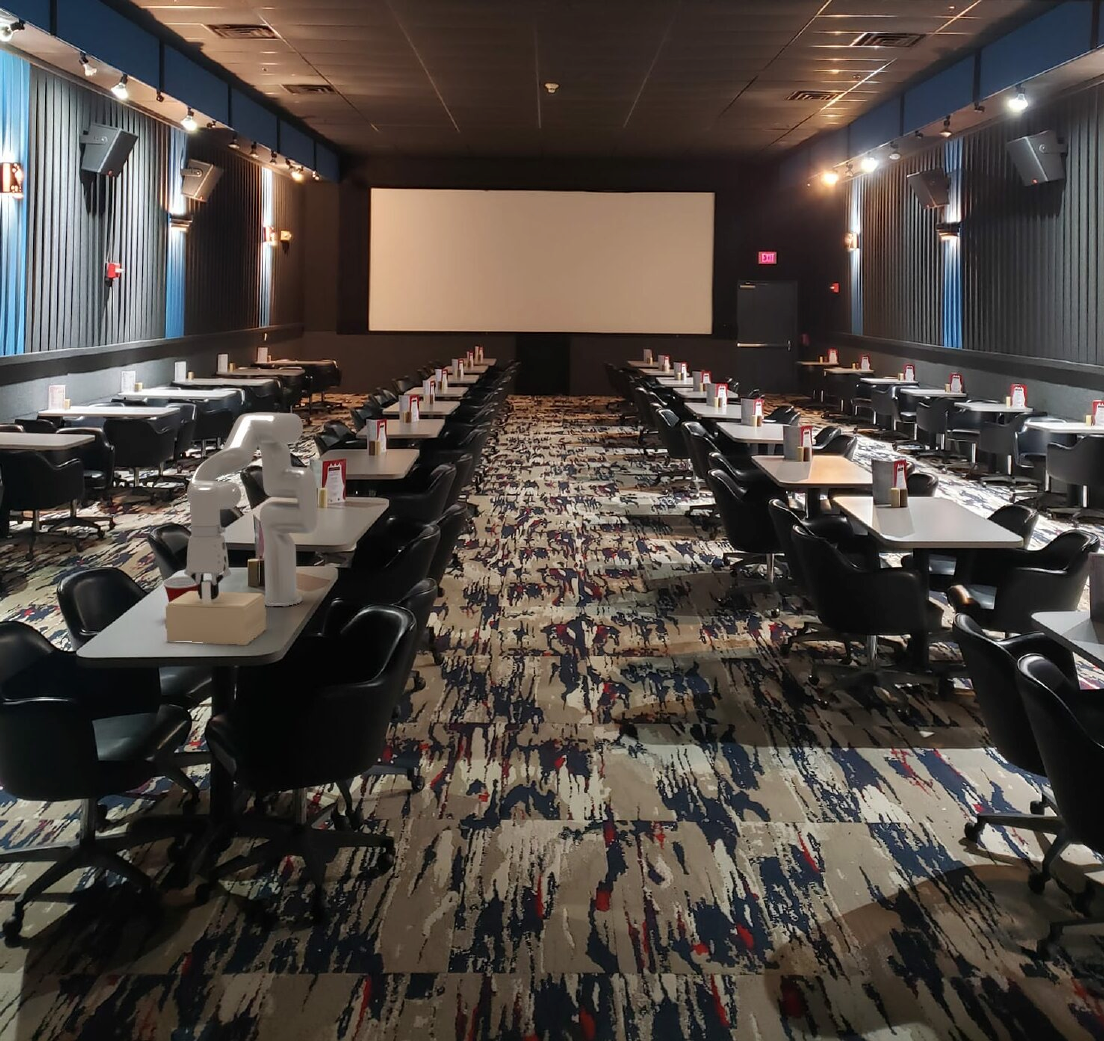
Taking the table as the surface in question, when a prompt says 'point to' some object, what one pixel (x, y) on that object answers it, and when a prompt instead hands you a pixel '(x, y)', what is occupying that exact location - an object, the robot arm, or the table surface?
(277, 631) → the table surface
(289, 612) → the table surface
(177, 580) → the plastic cup
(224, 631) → the carton
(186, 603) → the flap
